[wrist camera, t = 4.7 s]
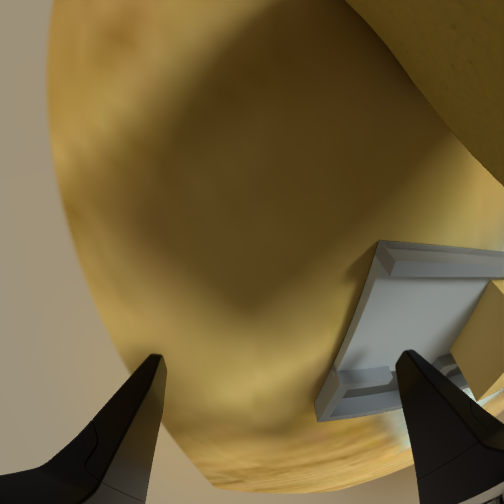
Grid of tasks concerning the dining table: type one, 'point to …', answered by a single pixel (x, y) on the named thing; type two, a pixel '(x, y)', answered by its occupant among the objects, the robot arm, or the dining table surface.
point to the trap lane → (405, 323)
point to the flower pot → (451, 64)
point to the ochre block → (483, 343)
